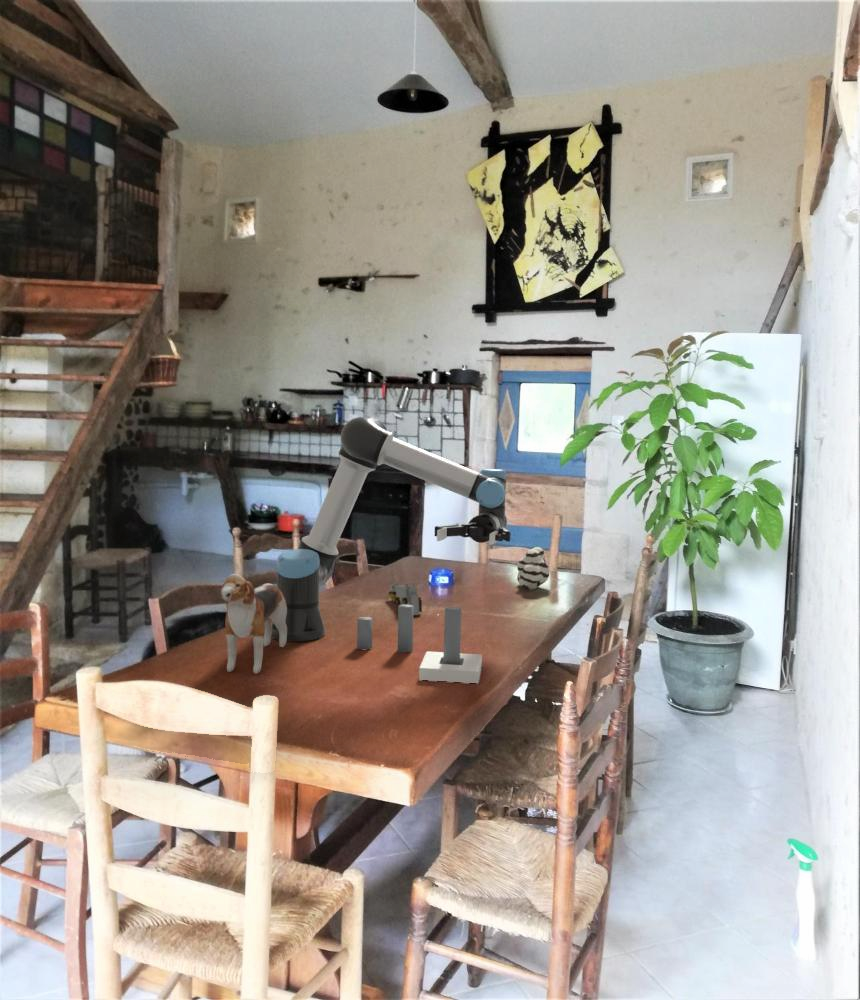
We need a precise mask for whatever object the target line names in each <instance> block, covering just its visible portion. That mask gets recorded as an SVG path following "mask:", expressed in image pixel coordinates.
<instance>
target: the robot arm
mask: <svg viewBox="0 0 860 1000" xmlns="http://www.w3.org/2000/svg"><path fill="white" fill-rule="evenodd" d="M340 432H341V433H340V443H341V447H340V449H339V451H338V456H339V459H340V461H339V465H338V467H337V469H336V471H335V474H334V476H333V478H332V481H331V483H330V485H329V488H328V490H327V493H326V495H325V497H324V499H323V502H322V504H321V507H320V509H319V511H318V514H317V515H316V518H315V521H314V523H313V525H312V527H311V530H310V532H309V534H308V535H306V536H303V537H301V540H300V542H299V544H298V547H297V548H295V549H290V550H286V551H283V552H281V553H280V554H279V556H278V557H277V563H276V587H278V588H279V589H280V590H281V592H282V593H283V595H284V597H285V599H286V604H287V614H286V621H285V622H286V626H287V641H286V642H308V640H309V641H314V639H315V640H319V639H321V638H323V637H324V636H325V631H326V630H325V629H326V627H325V626H326V625H325V624H324V620H323V618H322V614H321V611H320V607H319V606H320V587H321V586H323V585H324V584H325V583H327V582H328V581H329V580H330V578H331V577H332V575H333V572H334V568H335V563H336V560H337V557H338V556H339V550H338V548H337V545H338V543H339V541H340V538H341V536H342V534H343V531H344V529H345V527H346V524H347V522H348V519H349V518H350V515H351V513H352V510H353V508H354V506H355V503H356V501H357V500H358V496H359V494H360V492H361V490H362V488H363V485H364V483H365V480H366V478H367V476H368V474H369V473H370V472H372V471H376V468H377V466H381V465H383V464H384V465H387V466H389V467H391V468H394V469H396V470H398V471H401V472H402V473H406V474H408V475H411V476H414V477H415V478H418V479H421V480H423V481H425V482H427V483H430V484H433V485H436V486H438V487H440V488H442V489H445V490H447V491H450V492H452V493H455V494H457V495H460V496H463V498H467V499H470V500H471V501H473V502H476V503H478V515H476V516H474V517H472V518H471V519H470V520H469V522H468V523H462V524H461V525H460V523H454V524H446V525H436V526H434V537H436V542H441V541H443V540H446V539H448V537H462V538H470V539H471V540H473V541H474V542H476V543H479V544H482V543H487V542H489V544H488V545H490V546H493V545H494V544H496V543H497V542H503V541H505V542H510V541H511V531H510V530H508V529H507V525H508V518H507V515H506V492H507V491H506V489H507V488H506V487H507V472H506V471H505V470H504V469H499V468H498V469H497V468H484V469H481V470H480V472H477V471H475V470H472V469H470V468H467V467H465V466H463V465H460V464H458V463H456V462H453V461H451V460H448V459H447V458H444V457H441V456H439V455H436V454H435V453H432V452H429V451H427V450H424V449H422V448H419V447H417V446H414V445H412V444H410V443H407V442H405V441H403V440H400V439H398V438H395V437H394V434H393V433H392V432H390V431H388V428H387V427H386V425H385V424H384V423H383V422H382V421H380V420H379V419H377V418H375V417H371V416H365V417H363V416H360V417H359V416H358V417H355V418H352V419H349V420H348V422H346V424H344V426H343V427H342V429H341V431H340ZM271 622H272V621H271ZM271 627H272V634H271V636H272V637H274V638H277V639H279V631H278V629H277V628H276V626H275V624H274V623H273V622H272V623H271ZM272 637H271V638H272ZM274 638H273V639H274ZM277 639H276V640H277Z"/></svg>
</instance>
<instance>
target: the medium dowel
mask: <svg viewBox="0 0 860 1000" xmlns="http://www.w3.org/2000/svg"><path fill="white" fill-rule="evenodd" d="M397 608H398V610H397V611H398V612H397V613H398V614H397V619H398V620H397V652H399V653H403V652H408V653H412V652H413V651H412V650H414V649H413V648H414V647H413V645H414V644H413V643H414V615H413V612H414V606H413V605H407V604H404V605H401V604H399V605H398V607H397ZM411 651H412V652H411Z"/></svg>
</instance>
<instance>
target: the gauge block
mask: <svg viewBox="0 0 860 1000" xmlns="http://www.w3.org/2000/svg"><path fill="white" fill-rule="evenodd" d="M424 654H425V655H424V657H423V658H422V661H421V663H420V666H419V669H418V681H422V680H428V681H427V682H437V681H447V682H446V683H453V682H463V683H462V684H469V683H477V684H476V685H479V684H478V683H479V682H480V679H481V673H482V668H483V667H482V666H483V654H479V653H478V654H477V653H462V652H460V665H451V664H443V659H444V651H429V650H428V651H426V652H425V653H424ZM481 667H482V668H481Z"/></svg>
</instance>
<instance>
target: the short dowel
mask: <svg viewBox="0 0 860 1000" xmlns="http://www.w3.org/2000/svg"><path fill="white" fill-rule="evenodd" d="M356 620H357V627H356V649H357V648H358V649H357V650H359V649H370V648H372V649H373V618H372V617H370V616H360V617H357V619H356ZM370 650H371V649H370Z"/></svg>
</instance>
